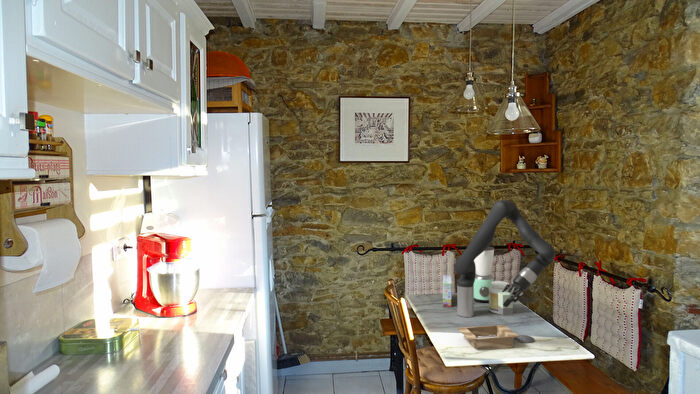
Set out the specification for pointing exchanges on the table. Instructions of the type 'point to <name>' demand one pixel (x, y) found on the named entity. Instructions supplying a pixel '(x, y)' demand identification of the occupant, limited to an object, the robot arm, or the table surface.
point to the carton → (501, 331)
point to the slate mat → (524, 339)
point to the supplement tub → (495, 294)
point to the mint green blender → (483, 275)
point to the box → (501, 299)
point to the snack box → (447, 291)
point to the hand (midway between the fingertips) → (501, 304)
